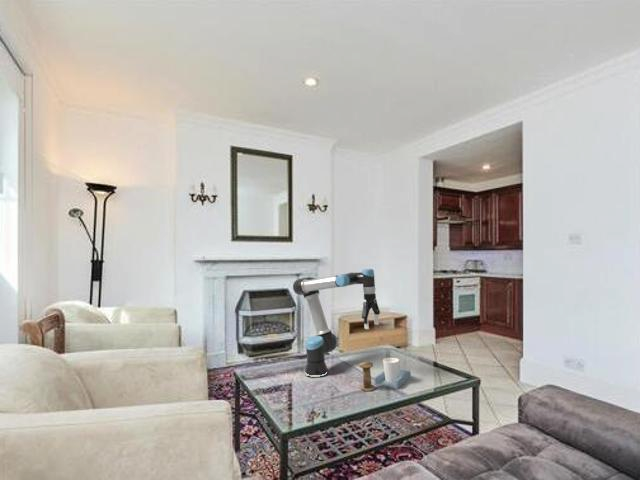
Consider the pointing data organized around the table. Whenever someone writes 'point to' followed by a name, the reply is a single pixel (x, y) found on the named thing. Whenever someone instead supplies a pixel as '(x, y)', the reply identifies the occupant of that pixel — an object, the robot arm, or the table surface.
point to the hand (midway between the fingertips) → (371, 326)
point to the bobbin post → (367, 376)
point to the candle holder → (391, 369)
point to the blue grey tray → (403, 377)
